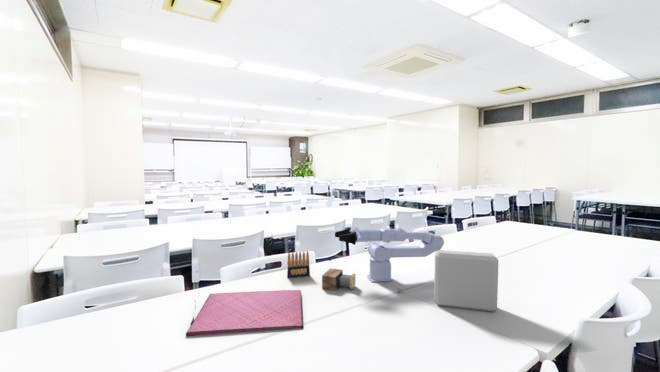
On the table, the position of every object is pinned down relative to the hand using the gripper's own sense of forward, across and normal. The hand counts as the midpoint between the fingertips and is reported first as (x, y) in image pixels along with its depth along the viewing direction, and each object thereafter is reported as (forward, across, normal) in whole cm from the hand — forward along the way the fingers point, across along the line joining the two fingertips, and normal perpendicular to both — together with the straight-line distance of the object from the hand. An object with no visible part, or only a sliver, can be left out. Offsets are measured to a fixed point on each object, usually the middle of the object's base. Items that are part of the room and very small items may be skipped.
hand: (337, 236), depth 136 cm
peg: (-2, +6, +21) cm, 22 cm away
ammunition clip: (+16, -11, +22) cm, 29 cm away
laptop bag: (+38, +21, +23) cm, 49 cm away
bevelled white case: (-42, +33, +20) cm, 57 cm away
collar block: (+2, +3, +21) cm, 21 cm away
